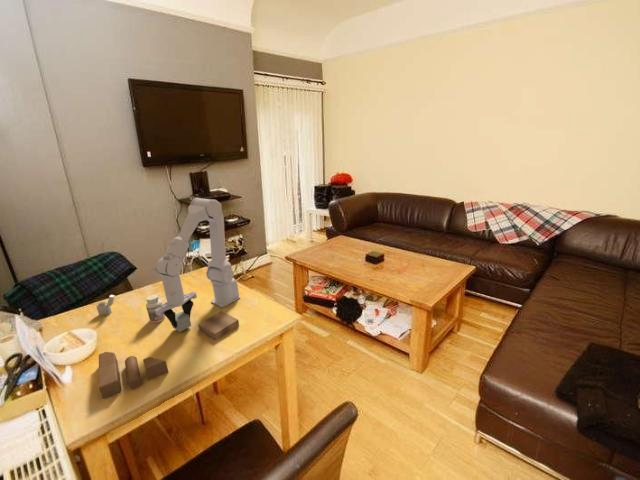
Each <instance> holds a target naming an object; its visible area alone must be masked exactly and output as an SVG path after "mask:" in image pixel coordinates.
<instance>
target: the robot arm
mask: <svg viewBox="0 0 640 480" xmlns="http://www.w3.org/2000/svg"><path fill="white" fill-rule="evenodd" d="M187 212H188V213H187V216H186V219H185V221H184V222H183V225H182V227H181V230H180V231H179V234H178V236H175V237H173V238H172V240H170V241H169V245H168V247H167V249H166V250H165V253H164V254H163V256H162V257H161V258H159V259H158V260H157V262H156V263H155V268H154V270H155V272H156V273H158V274H159V276H160V278H161V282H162V286H163V290H164V295H165V297H166V298H165V299H166V302H164V303H162V306H160V307H159V308H157V309H155V313H156V315H158V316H161V315H162V313H163V314H164V315H165V318H167V319H168V321H169V322H170V324H171V326H172V328H173V327H174V328H176V327H177V323H176V318H175V315H176V312H175V311H174V310H173V309H176V308H178V307H181V309H182V312H184V313H186V314H188V315H189V318H190V319H191V314H192V313H191V312H192V309H193V306H194V301H193V299H195V300H196V299H197V298H198V296H197V292H194V291H191V292H189V293H185V294H184V288H183V285H182V281H181V279H182V278H181V276H180V272H181V271H182V270H183V269H182V267H183V258H184V256H185V254H186V253H187V251H188V249H189V247H190V243H189V240H190V238H191V236H192V235H193V233H194V231H195V230H196V228H197V227H198V225H199V224H200V222H203V221H207V222H209V223H208V225H209V238H210V239H209V240H210V241H209V242H210V255H211V260H210V261H209V262H208V263H207V269H206V273H205V274H206V278H207V279H208V280H210V283H211V284H212V289H213V297H214V299H212V300H211V301H210V303H212V304H214V305H216V306H218V307H221V308H225V307H226V306H228V305H230V304H233V302H236V301H238V300H239V299H241V296H240V292H239V285H238V281H237V279H235V278H234V274H235V273H234V271H233V268H232V263H230V262H229V260H227V259H226V256H227V254H226V236H225V235H226V234H225V217H224V213H223V208H222V203H221V202H219V201H218V200H217V199H207V198H200V197H195V198H193V199H192V200H191V201H190V204H189V205H188V207H187ZM174 328H173V329H174Z"/></svg>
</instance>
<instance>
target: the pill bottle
mask: <svg viewBox="0 0 640 480" xmlns="http://www.w3.org/2000/svg"><path fill="white" fill-rule="evenodd" d="M145 300H146V305H145V307H146V311H147V315H148V319H149V322H150V323H151V324H156V323H157V324H158V323H161V322H162V321H163V320H165V318H166V316H165V315H164V314H163V313H162V315H161V316H158V315H156V313H155V309H157V308H159V307H160V306H162V305H163V302H162V300H161V299H160V298H159V296H158V294H151V295H148V296H147V297H146V298H145Z"/></svg>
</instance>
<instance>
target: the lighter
mask: <svg viewBox="0 0 640 480" xmlns="http://www.w3.org/2000/svg"><path fill="white" fill-rule="evenodd" d="M115 296H116V295H115V294H110V295H109V297H108V300H107V303H106V301H100V302H99V303H98V304H97V305H96V310H97V312H98V316H99V315H101V316H108V314H110V315H111V314H112V313H113V311H112V308H111V306H112V305H113V304H114V300H115Z"/></svg>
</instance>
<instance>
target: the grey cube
mask: <svg viewBox="0 0 640 480" xmlns="http://www.w3.org/2000/svg"><path fill="white" fill-rule="evenodd" d="M175 318H176V323H177V327H176V328H174V327H173V326H172V328H173V329H174V330H176V331H177V332H179V333H181V332H183V331H185V330H186V329H188V328H190V327H192V323H191V317H190V318H189V315H188V314H186V313H184V312H183V311H180V312H179V313H177V314H176V313H175Z"/></svg>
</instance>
